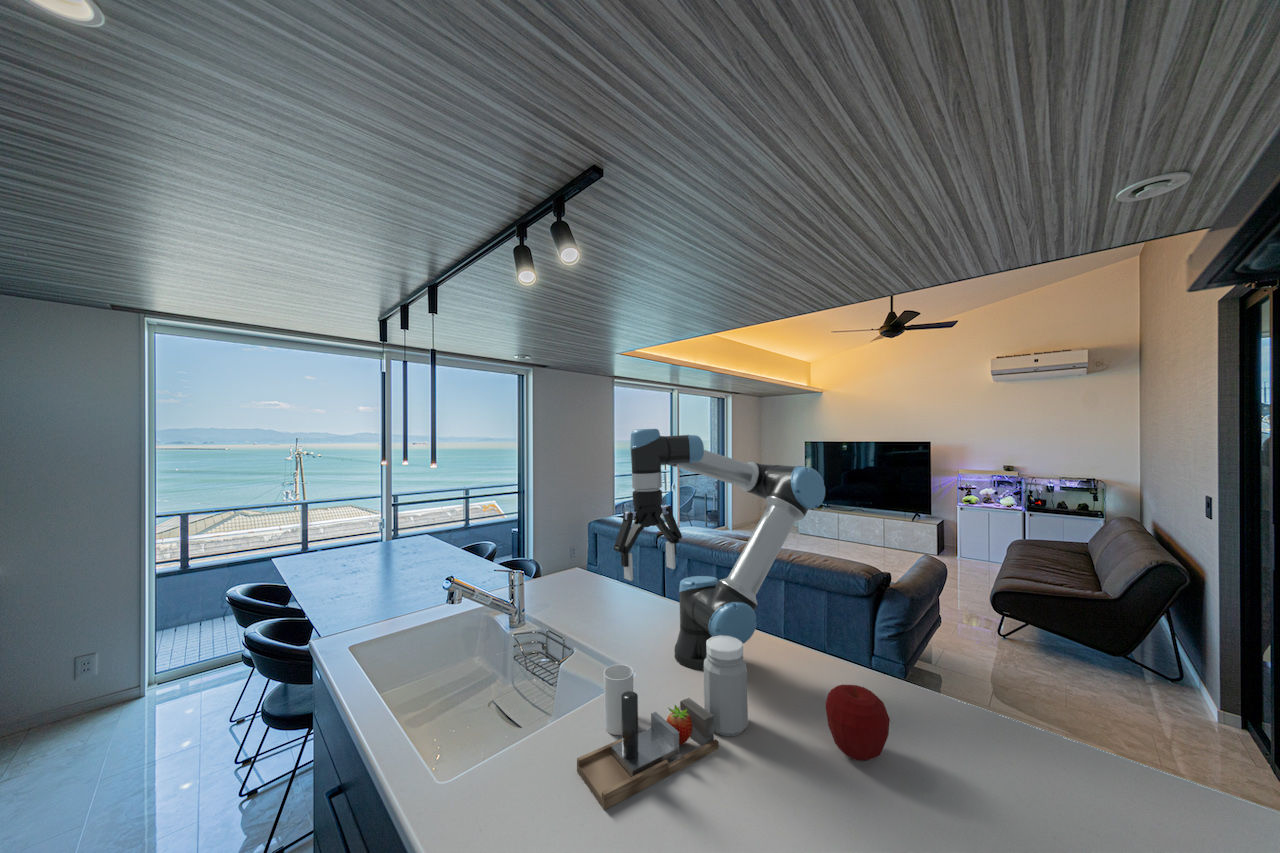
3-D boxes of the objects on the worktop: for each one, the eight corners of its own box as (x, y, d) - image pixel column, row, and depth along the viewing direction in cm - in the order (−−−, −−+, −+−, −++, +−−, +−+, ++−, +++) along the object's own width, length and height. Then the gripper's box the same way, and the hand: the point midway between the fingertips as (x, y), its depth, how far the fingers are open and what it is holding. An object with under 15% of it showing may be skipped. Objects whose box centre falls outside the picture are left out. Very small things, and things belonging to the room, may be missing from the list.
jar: (752, 717, 101) (750, 637, 102) (743, 743, 92) (741, 656, 93) (710, 707, 105) (709, 630, 106) (698, 731, 96) (697, 648, 97)
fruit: (688, 735, 95) (687, 697, 95) (695, 752, 90) (694, 712, 90) (664, 738, 94) (663, 700, 94) (670, 755, 89) (669, 715, 89)
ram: (655, 731, 94) (655, 673, 94) (679, 753, 87) (678, 690, 88) (611, 752, 88) (610, 689, 88) (632, 777, 81) (631, 709, 81)
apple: (864, 785, 81) (862, 711, 81) (813, 746, 91) (811, 681, 92) (904, 762, 86) (901, 693, 87) (851, 729, 97) (849, 667, 97)
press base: (685, 721, 100) (684, 694, 100) (718, 749, 91) (718, 719, 91) (576, 771, 85) (576, 739, 85) (604, 810, 76) (604, 774, 76)
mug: (627, 739, 94) (626, 682, 95) (598, 732, 96) (598, 676, 97) (643, 712, 104) (642, 660, 104) (617, 706, 106) (616, 656, 106)
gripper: (674, 484, 122) (677, 560, 122) (597, 493, 107) (600, 580, 107) (692, 485, 116) (696, 566, 116) (614, 495, 101) (617, 588, 101)
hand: (650, 573), depth 111 cm, fingers open, 13 cm apart
